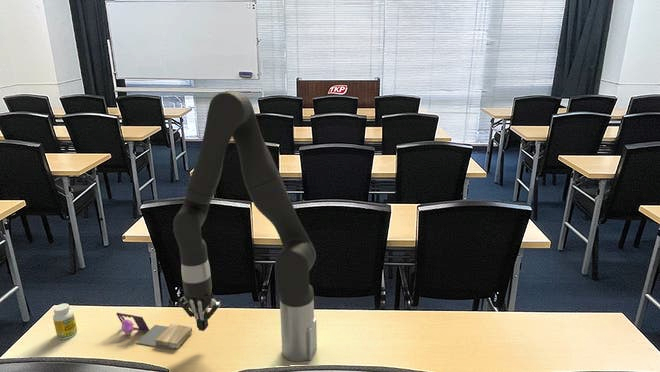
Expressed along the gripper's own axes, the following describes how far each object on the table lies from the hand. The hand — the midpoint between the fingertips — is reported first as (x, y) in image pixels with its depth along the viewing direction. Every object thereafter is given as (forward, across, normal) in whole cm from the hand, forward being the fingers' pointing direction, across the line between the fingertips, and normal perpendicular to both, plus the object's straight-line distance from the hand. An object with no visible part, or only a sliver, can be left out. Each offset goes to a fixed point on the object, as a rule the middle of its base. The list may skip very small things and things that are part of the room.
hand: (202, 329), depth 130 cm
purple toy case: (+5, +24, +1) cm, 25 cm away
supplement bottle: (+5, +43, +6) cm, 43 cm away
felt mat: (+5, +14, 0) cm, 14 cm away
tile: (+4, +6, 0) cm, 7 cm away
